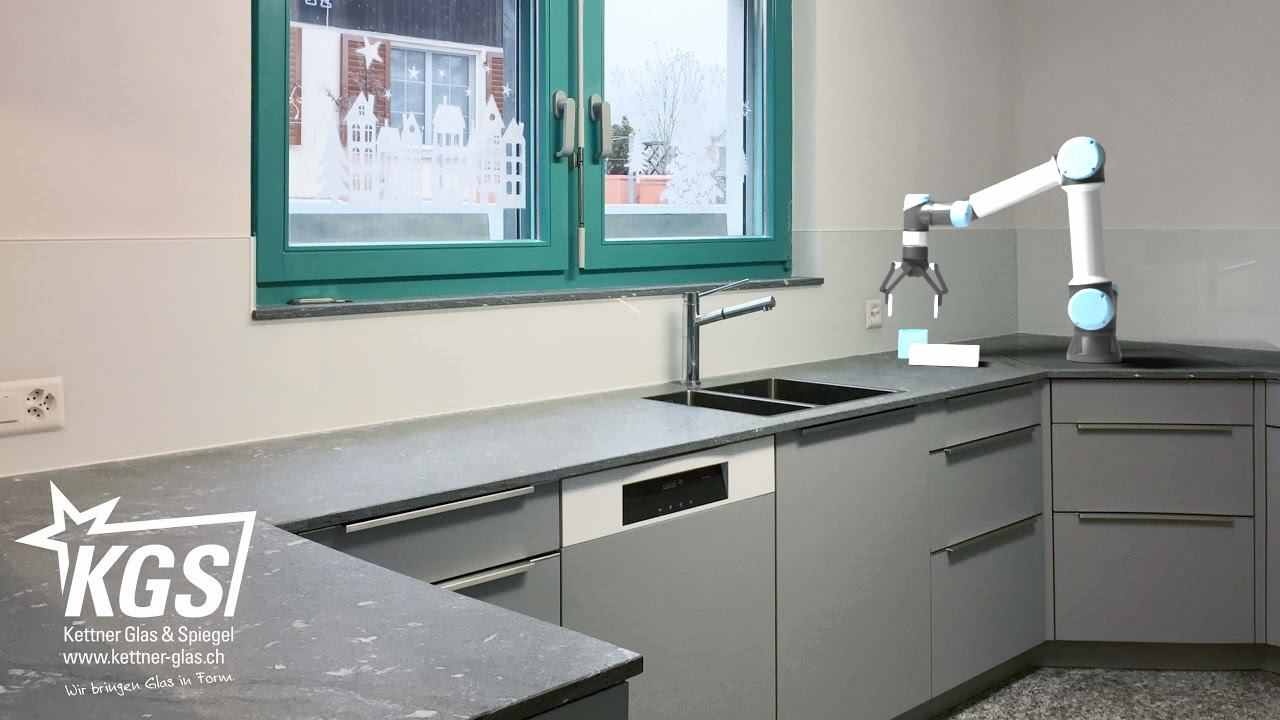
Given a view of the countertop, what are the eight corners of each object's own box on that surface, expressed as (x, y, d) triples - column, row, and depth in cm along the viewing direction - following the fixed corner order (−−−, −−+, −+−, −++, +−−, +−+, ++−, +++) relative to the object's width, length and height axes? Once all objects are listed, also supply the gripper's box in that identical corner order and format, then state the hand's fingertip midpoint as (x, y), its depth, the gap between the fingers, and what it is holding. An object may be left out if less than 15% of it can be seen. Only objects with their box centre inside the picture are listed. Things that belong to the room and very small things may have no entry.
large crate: (978, 360, 356) (979, 345, 355) (977, 366, 343) (977, 350, 342) (912, 358, 361) (913, 343, 361) (909, 364, 348) (909, 348, 348)
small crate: (927, 355, 370) (927, 329, 369) (925, 358, 362) (926, 332, 361) (900, 355, 372) (901, 329, 371) (898, 358, 365) (898, 331, 364)
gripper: (958, 246, 363) (955, 316, 366) (874, 244, 370) (872, 313, 373) (957, 247, 356) (954, 318, 359) (872, 245, 363) (869, 315, 366)
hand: (912, 316), depth 366 cm, fingers open, 13 cm apart
